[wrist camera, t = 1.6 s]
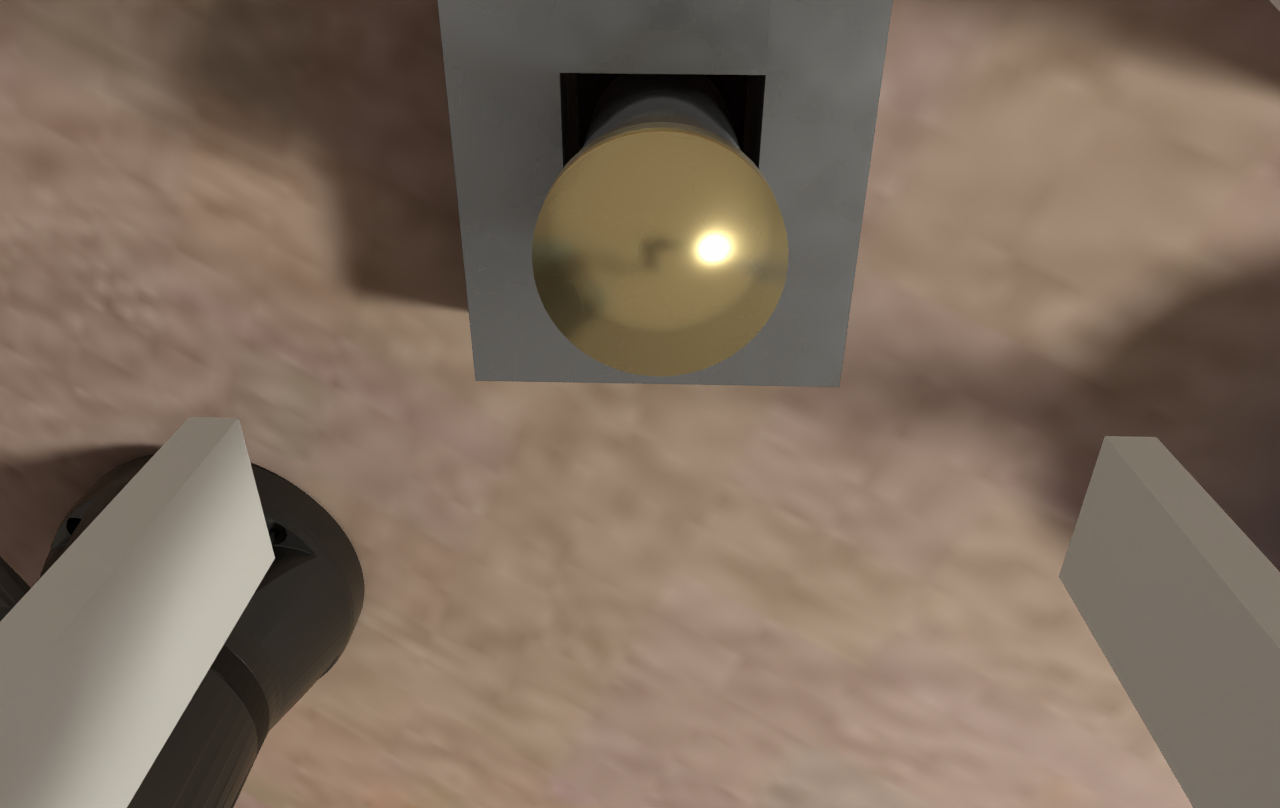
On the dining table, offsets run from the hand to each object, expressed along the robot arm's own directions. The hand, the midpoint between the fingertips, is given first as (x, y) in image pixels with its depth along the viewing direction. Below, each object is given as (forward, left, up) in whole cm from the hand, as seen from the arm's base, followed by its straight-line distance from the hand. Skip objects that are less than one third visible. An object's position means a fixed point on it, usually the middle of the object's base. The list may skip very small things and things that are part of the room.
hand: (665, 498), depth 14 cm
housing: (0, 0, -24) cm, 24 cm away
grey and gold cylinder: (0, 0, -24) cm, 24 cm away
